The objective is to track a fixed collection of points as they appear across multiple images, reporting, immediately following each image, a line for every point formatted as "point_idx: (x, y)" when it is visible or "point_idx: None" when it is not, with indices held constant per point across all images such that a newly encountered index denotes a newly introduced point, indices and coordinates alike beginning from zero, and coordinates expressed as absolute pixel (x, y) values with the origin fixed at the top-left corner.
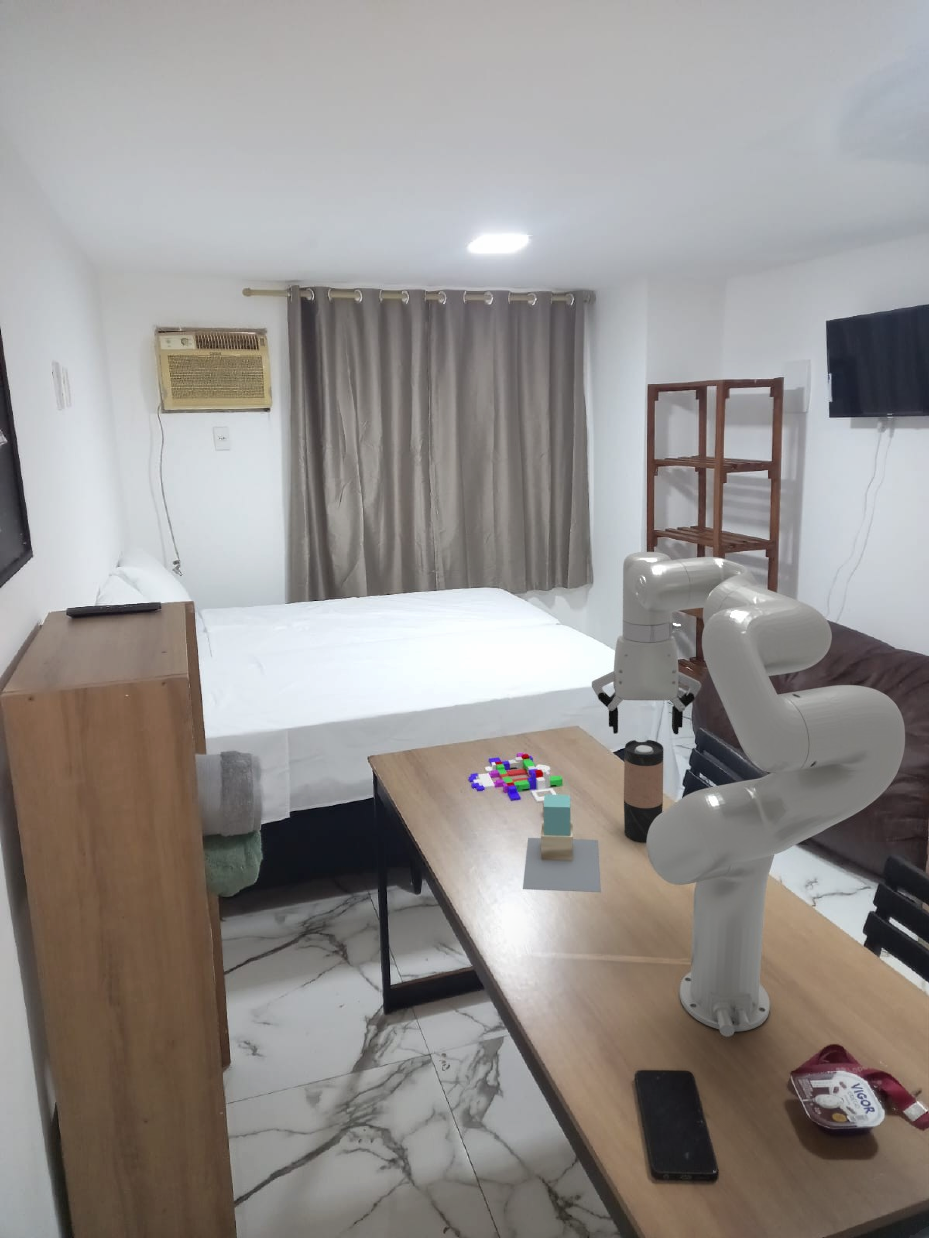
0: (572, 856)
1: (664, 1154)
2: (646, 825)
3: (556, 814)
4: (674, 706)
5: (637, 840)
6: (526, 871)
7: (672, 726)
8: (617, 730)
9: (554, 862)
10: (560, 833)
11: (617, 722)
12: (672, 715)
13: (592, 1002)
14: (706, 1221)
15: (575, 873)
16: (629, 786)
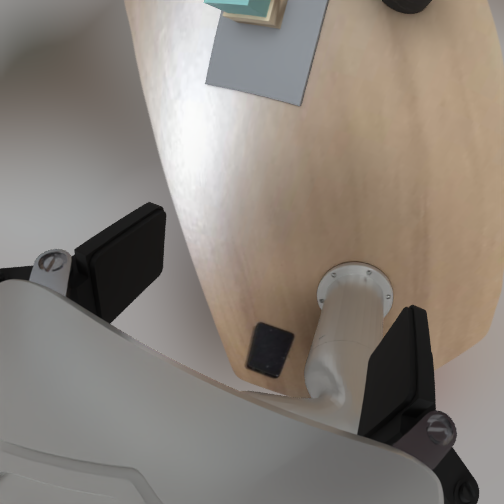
0: (278, 27)
1: (256, 362)
2: (404, 3)
3: (230, 6)
4: (389, 429)
5: (389, 4)
6: (214, 48)
7: (394, 332)
8: (154, 277)
9: (254, 30)
10: (250, 14)
11: (133, 298)
12: (399, 364)
13: (245, 260)
14: (263, 386)
15: (276, 59)
16: None
